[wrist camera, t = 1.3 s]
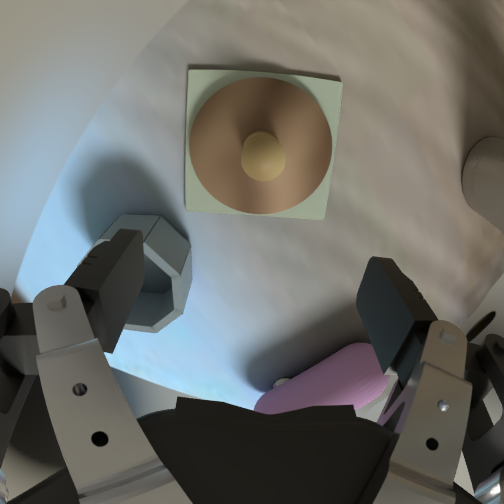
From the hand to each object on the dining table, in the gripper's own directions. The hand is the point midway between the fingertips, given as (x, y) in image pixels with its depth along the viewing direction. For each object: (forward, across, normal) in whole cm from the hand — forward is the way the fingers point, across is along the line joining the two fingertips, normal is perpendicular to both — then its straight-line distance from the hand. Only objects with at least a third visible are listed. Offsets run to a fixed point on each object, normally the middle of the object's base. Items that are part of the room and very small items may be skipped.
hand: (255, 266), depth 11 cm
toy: (+18, -12, +27) cm, 35 cm away
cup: (+18, +10, +11) cm, 24 cm away
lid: (+18, -1, -1) cm, 18 cm away
